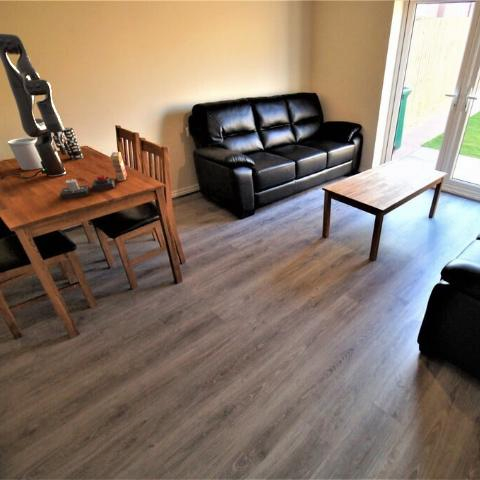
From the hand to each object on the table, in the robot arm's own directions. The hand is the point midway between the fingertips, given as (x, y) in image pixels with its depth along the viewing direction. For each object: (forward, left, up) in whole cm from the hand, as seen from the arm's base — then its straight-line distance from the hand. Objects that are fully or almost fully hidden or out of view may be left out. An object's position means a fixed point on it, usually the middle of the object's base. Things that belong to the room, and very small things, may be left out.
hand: (66, 152), depth 178 cm
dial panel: (+2, -13, -20) cm, 24 cm away
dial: (+2, -13, -17) cm, 21 cm away
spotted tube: (-20, +59, -20) cm, 65 cm away
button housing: (+14, -5, -20) cm, 25 cm away
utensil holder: (-40, +44, -20) cm, 63 cm away
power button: (+14, -5, -15) cm, 22 cm away
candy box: (+21, +7, -20) cm, 30 cm away
